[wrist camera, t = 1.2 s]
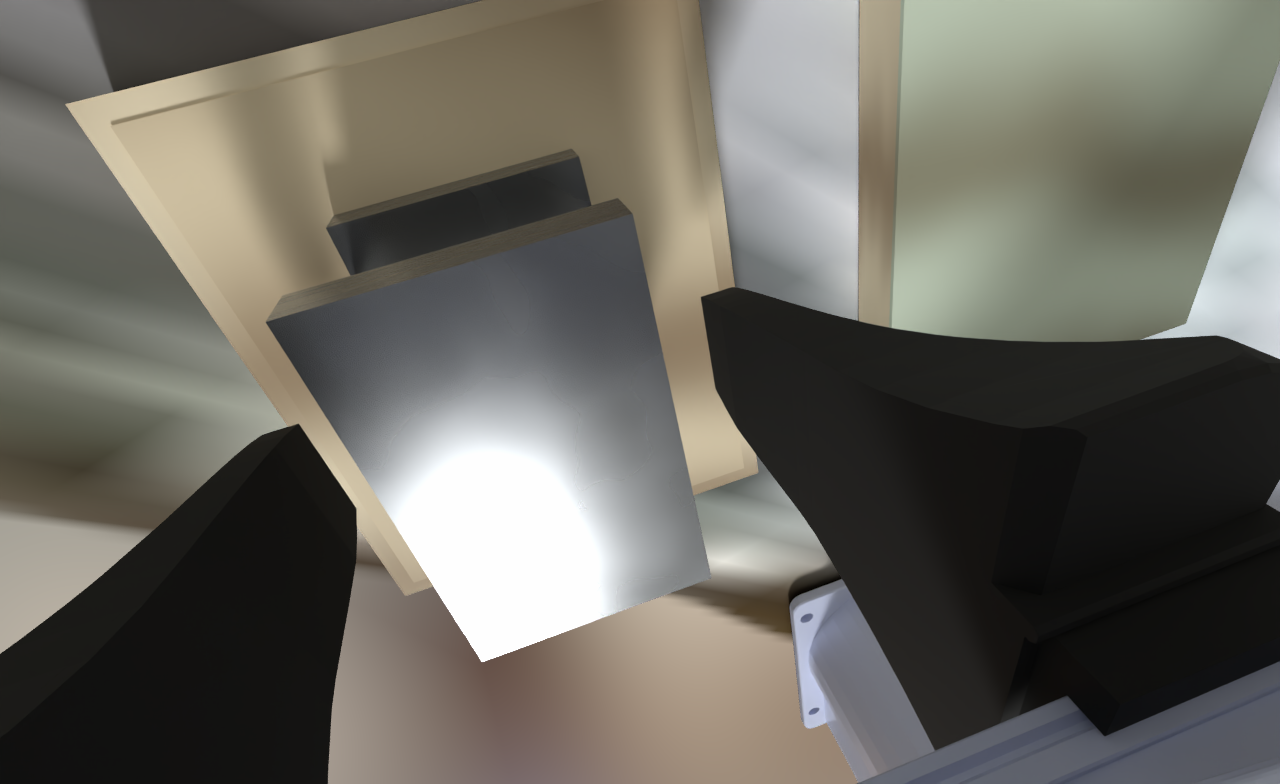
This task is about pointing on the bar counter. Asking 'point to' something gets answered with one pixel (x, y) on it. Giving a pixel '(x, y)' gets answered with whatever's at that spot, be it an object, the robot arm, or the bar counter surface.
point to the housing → (506, 398)
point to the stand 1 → (434, 178)
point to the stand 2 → (1051, 160)
